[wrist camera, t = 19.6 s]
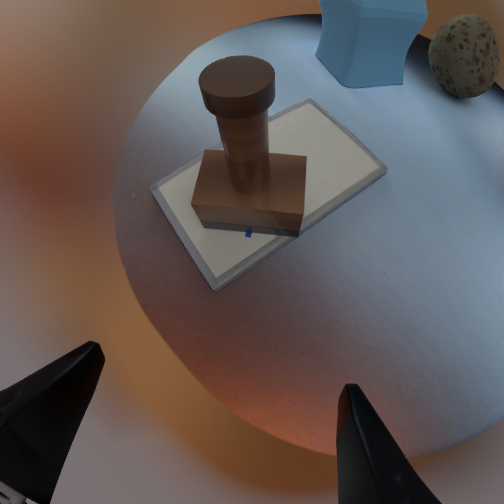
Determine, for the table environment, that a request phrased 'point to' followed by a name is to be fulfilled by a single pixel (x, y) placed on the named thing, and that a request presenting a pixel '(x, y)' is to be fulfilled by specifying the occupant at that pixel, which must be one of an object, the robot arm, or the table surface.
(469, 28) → the decorative egg
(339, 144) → the board
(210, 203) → the wooden rubber stamp
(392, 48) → the vase
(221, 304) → the table surface
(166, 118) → the table surface
